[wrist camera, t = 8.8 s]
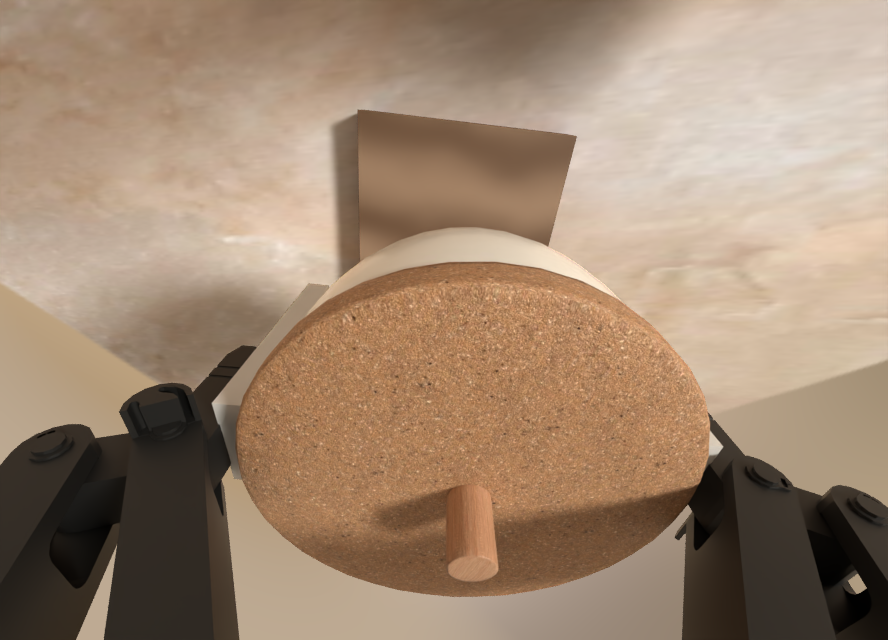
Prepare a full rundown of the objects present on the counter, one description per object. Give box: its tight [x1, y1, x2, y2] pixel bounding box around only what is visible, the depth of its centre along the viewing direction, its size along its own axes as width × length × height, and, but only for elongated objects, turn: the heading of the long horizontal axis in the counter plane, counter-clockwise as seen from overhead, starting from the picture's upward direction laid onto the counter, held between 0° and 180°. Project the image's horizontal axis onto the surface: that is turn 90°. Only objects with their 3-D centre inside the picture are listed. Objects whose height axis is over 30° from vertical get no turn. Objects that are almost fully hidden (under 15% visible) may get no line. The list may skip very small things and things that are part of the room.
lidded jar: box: [235, 227, 710, 597], centre depth 11 cm, size 11×11×9 cm
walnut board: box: [358, 110, 577, 262], centre depth 27 cm, size 14×14×2 cm
